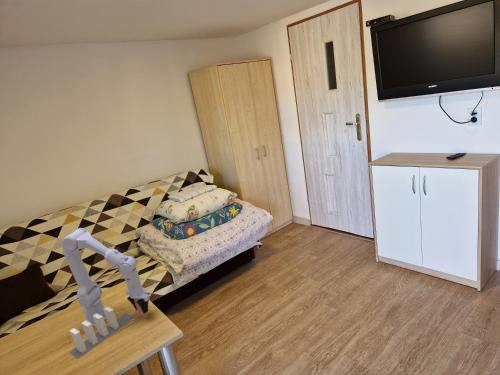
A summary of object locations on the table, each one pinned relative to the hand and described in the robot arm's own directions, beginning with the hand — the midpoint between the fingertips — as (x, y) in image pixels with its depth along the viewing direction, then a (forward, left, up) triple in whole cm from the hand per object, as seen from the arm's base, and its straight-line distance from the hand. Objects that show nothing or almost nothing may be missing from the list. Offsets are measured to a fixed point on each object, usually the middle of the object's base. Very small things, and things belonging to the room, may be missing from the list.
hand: (142, 310), depth 154 cm
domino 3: (-7, -16, -2) cm, 17 cm away
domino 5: (0, 0, -3) cm, 3 cm away
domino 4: (-7, -11, -2) cm, 13 cm away
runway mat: (-7, -16, -3) cm, 18 cm away
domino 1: (-7, -26, -2) cm, 27 cm away
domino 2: (-7, -21, -2) cm, 22 cm away
